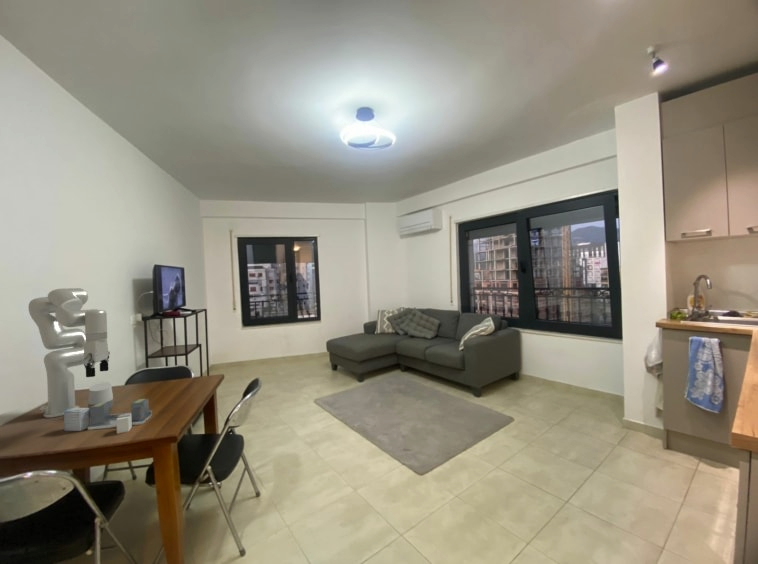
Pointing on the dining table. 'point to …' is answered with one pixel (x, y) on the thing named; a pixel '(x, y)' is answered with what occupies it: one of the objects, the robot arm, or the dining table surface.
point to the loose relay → (124, 423)
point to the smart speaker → (100, 394)
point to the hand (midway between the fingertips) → (97, 373)
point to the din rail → (105, 420)
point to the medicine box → (76, 419)
